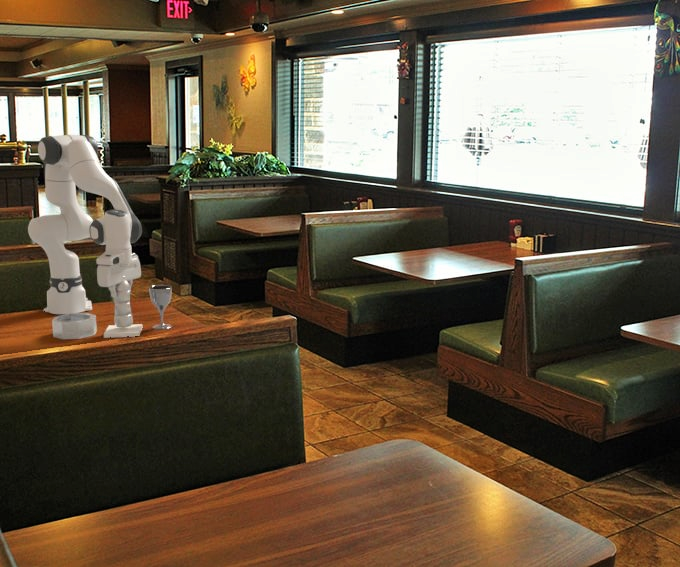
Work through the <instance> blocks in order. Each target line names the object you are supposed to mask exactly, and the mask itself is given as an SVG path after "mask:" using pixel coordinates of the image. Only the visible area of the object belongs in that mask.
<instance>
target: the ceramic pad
mask: <svg viewBox="0 0 680 567" xmlns="http://www.w3.org/2000/svg"><path fill="white" fill-rule="evenodd" d="M142 328H143V324H142V323H140V324H139V323H137V324H132V325H131V326H129V327H125V328H122V327H117V326H116V325H115V324H114V325H113V324H112V325H110V324H108V326H107V327H106V330H105V331H104V332H103V339H110V337H111V338H112V339H113V338H114V339H115V338H134V337H135V336H139V337H140V335H141V333H142V331H143V329H142ZM127 336H129V337H127ZM135 338H136V337H135Z"/></svg>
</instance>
